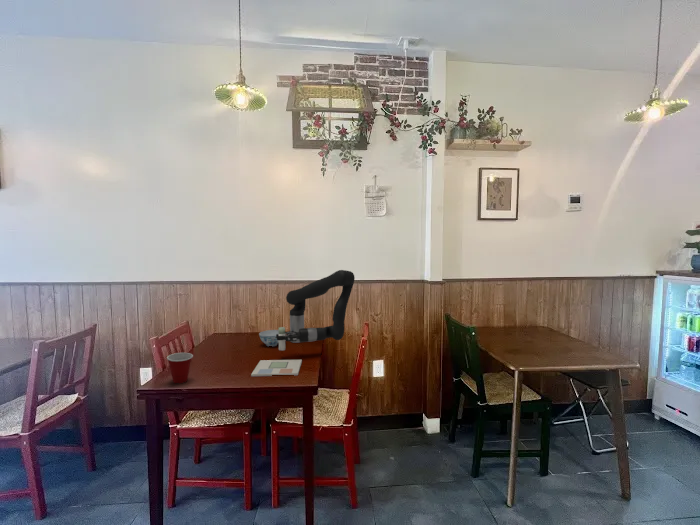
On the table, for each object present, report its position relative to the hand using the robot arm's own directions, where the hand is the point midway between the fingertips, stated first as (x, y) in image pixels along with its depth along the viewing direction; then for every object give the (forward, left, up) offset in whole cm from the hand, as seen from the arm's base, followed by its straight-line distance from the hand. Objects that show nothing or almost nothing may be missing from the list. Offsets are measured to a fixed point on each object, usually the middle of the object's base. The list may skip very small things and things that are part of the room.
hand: (276, 337), depth 188 cm
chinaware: (-28, -8, -12) cm, 31 cm away
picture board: (+14, +3, -12) cm, 19 cm away
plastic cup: (+28, -39, -12) cm, 50 cm away
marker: (-1, +3, -7) cm, 8 cm away
